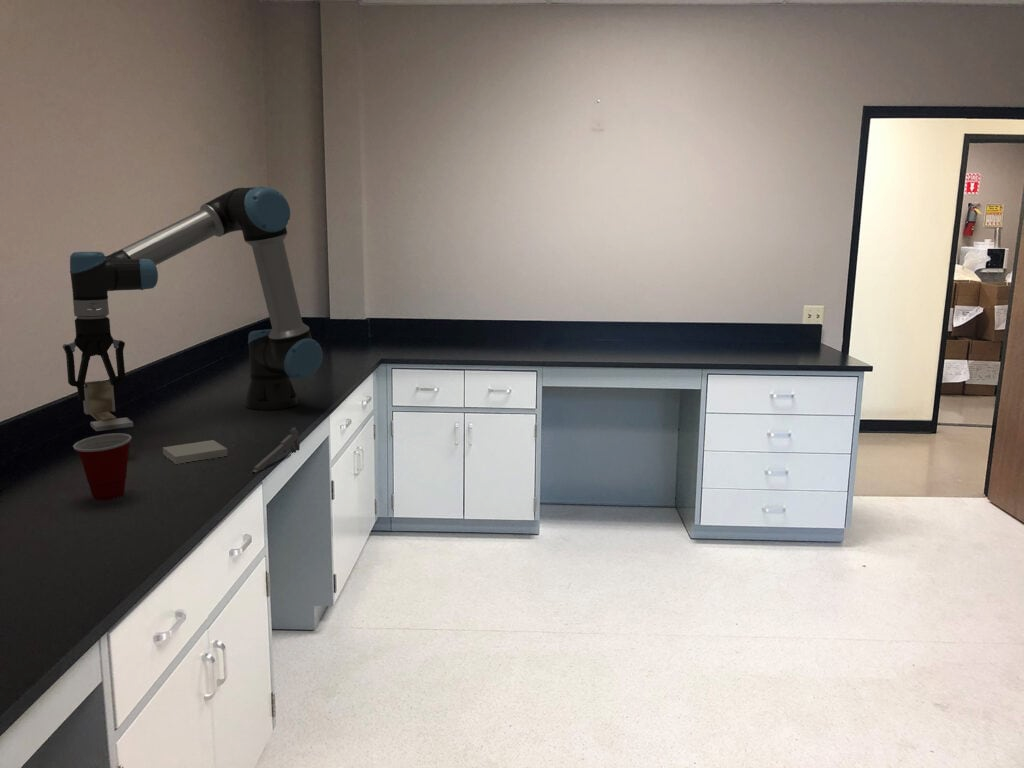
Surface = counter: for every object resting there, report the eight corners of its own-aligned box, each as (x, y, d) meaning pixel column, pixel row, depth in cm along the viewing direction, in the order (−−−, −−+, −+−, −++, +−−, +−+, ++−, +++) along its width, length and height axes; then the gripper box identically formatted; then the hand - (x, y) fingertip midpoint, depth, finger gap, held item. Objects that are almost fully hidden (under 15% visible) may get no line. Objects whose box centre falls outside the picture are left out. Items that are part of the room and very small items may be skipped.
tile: (213, 439, 212) (227, 448, 204) (213, 449, 213) (227, 458, 205) (162, 447, 205) (175, 456, 197) (163, 457, 206) (176, 466, 198)
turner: (109, 408, 218) (107, 375, 217) (133, 426, 200) (130, 390, 199) (75, 412, 214) (72, 379, 212) (96, 431, 196) (93, 394, 194)
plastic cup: (70, 495, 176) (64, 439, 173) (124, 484, 183) (119, 430, 181) (88, 508, 168) (83, 449, 166) (144, 496, 175) (140, 439, 173)
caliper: (295, 451, 211) (294, 426, 210) (299, 451, 211) (298, 426, 209) (251, 474, 191) (249, 447, 190) (255, 475, 191) (254, 447, 190)
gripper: (52, 320, 197) (61, 419, 201) (136, 316, 208) (142, 410, 212) (46, 317, 203) (55, 413, 207) (128, 313, 213) (134, 404, 218)
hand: (99, 411), depth 210 cm, fingers closed on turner, 5 cm apart
